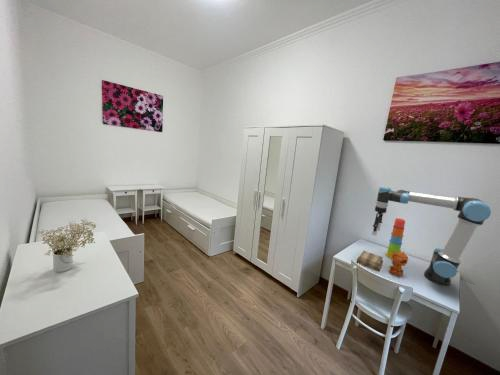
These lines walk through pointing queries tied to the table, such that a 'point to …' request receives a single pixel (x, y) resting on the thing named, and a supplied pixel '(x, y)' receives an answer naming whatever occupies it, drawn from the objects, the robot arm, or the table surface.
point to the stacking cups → (396, 237)
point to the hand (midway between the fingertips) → (375, 232)
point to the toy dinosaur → (398, 263)
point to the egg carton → (370, 260)
